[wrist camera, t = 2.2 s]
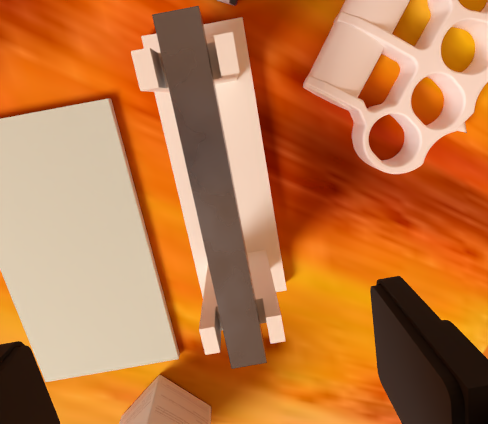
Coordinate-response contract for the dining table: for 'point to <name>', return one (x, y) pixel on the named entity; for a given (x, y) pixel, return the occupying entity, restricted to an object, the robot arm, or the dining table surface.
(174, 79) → the rail
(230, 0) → the candy bar box
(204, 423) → the supplement box
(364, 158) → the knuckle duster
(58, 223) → the mat
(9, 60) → the dining table surface
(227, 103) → the hook rack
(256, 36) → the dining table surface
